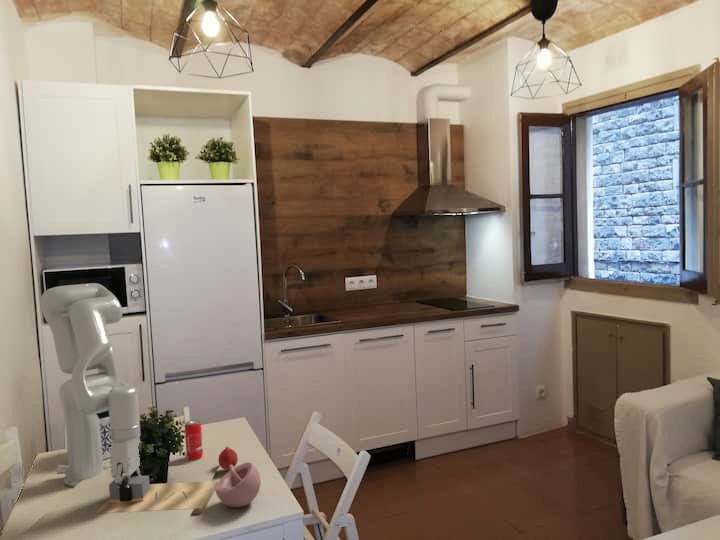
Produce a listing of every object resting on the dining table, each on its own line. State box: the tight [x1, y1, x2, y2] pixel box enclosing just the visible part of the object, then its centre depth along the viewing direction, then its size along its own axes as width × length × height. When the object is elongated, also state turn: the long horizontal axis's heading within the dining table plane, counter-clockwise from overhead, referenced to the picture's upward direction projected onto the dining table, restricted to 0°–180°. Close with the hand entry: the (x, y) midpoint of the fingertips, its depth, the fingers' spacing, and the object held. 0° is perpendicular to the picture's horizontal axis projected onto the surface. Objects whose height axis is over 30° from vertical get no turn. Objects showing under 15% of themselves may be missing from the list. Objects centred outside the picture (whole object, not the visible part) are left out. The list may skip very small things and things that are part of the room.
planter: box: [96, 410, 112, 461], centre depth 190 cm, size 16×16×14 cm
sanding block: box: [108, 474, 151, 503], centre depth 153 cm, size 9×5×5 cm, turn 90°
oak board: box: [95, 480, 218, 515], centre depth 153 cm, size 28×16×2 cm, turn 90°
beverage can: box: [184, 419, 204, 461], centre depth 182 cm, size 5×5×12 cm
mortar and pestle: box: [215, 461, 261, 508], centre depth 149 cm, size 12×12×12 cm
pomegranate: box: [217, 446, 239, 472], centre depth 171 cm, size 6×6×8 cm
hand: (130, 495), depth 153 cm, fingers closed on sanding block, 5 cm apart
